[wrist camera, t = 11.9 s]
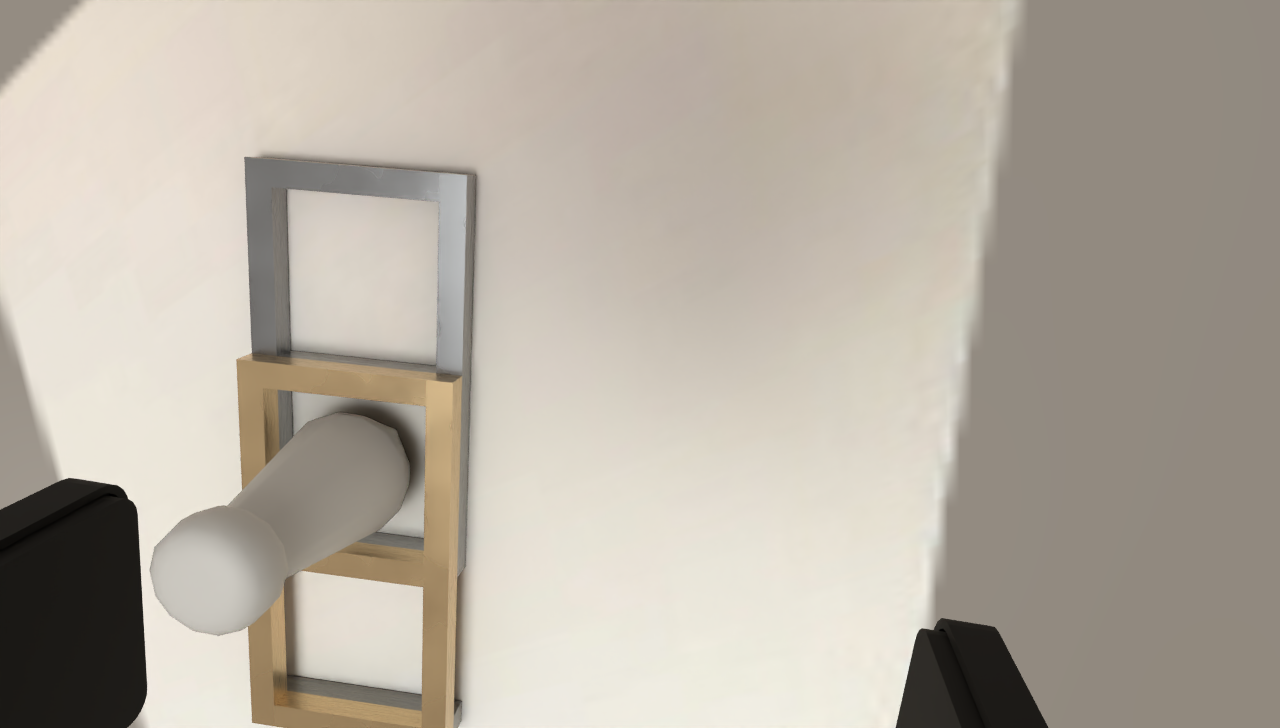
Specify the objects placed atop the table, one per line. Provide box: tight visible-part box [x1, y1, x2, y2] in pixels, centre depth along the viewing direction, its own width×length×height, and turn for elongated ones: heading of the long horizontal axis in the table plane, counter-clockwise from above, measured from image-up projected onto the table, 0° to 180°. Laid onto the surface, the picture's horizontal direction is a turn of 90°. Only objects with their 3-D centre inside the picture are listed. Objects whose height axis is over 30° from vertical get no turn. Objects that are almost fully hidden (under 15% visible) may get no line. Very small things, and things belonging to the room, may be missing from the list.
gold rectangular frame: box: [237, 353, 462, 728], centre depth 40 cm, size 19×10×2 cm, turn 176°
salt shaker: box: [150, 412, 410, 636], centre depth 34 cm, size 6×6×13 cm
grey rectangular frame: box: [244, 157, 476, 578], centre depth 39 cm, size 19×10×1 cm, turn 176°
